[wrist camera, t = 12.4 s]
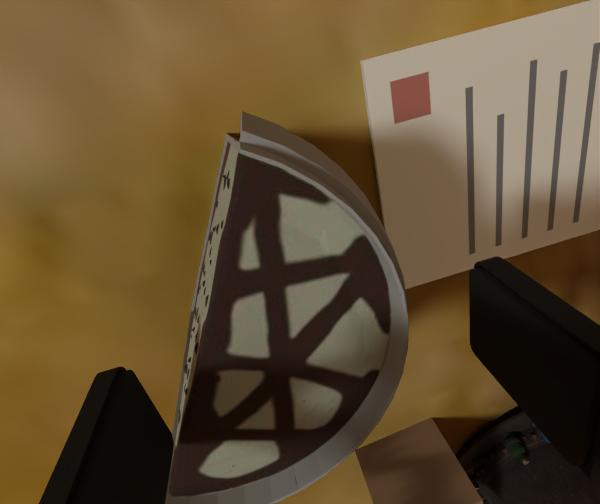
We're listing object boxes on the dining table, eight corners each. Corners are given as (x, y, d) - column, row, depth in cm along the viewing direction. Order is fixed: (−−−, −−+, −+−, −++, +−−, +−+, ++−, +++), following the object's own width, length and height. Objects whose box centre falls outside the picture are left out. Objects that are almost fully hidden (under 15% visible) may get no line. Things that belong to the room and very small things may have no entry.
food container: (293, 346, 22) (342, 533, 13) (186, 334, 20) (155, 540, 11) (363, 136, 17) (515, 195, 8) (233, 97, 15) (246, 119, 7)
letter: (391, 290, 21) (394, 292, 21) (359, 60, 16) (362, 60, 15) (611, 222, 22) (616, 224, 22) (652, -16, 17) (659, -18, 16)
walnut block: (375, 492, 29) (408, 584, 24) (354, 448, 26) (387, 541, 21) (444, 462, 29) (493, 547, 24) (430, 415, 26) (482, 500, 21)
